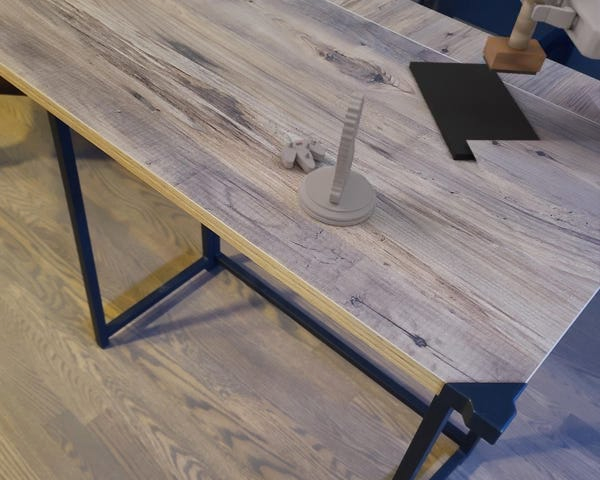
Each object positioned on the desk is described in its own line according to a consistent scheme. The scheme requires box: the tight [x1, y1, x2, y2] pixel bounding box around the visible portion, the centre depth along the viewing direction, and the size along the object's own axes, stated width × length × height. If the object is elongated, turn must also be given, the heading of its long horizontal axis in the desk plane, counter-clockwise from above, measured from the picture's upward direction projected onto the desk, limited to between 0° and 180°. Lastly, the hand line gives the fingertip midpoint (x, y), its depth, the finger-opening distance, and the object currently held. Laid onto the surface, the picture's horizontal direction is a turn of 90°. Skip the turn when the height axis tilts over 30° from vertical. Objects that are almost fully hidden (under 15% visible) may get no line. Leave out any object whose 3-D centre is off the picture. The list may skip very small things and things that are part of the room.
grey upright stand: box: [296, 90, 378, 227], centre depth 68 cm, size 10×10×15 cm
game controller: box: [270, 119, 326, 174], centre depth 78 cm, size 6×12×3 cm, turn 46°
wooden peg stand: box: [482, 0, 548, 76], centre depth 77 cm, size 7×4×15 cm, turn 94°
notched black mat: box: [408, 61, 542, 161], centre depth 90 cm, size 14×24×1 cm, turn 8°
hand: (527, 3), depth 77 cm, fingers closed on wooden peg stand, 2 cm apart
